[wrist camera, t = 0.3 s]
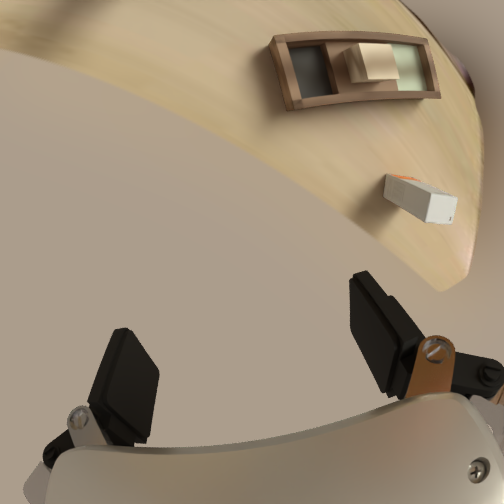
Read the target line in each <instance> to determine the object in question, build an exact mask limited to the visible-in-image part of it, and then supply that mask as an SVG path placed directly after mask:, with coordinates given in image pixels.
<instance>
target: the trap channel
mask: <svg viewBox="0 0 504 504" xmlns="http://www.w3.org/2000/svg"><path fill="white" fill-rule="evenodd" d="M358 43H372V44H389V45H391V47H392V51H393V54H394V58H395V62H396V65H397V69H398V74H399V78H400V79H397V80H390V81H383V82H365V83H351V79H350V75H349V72H348V68H347V64H346V60H345V57H344V53H343V51H344V50H346V49H348V48H350V47H352V46H354V45H356V44H358ZM269 48H270V51H271V54H272V58H273V61H274V65H275V68H276V72H277V75H278V79H279V82H280V86H281V90H282V94H283V97H284V101H285V105H286V109H287V111H290V110H295V109H301V108H307V107H314V106H320V105H328V104H335V103H344V102H354V101H365V100H380V99H406V98H429V99H441V94H440V88H439V83H438V79H437V74H436V70H435V65H434V61H433V58H432V54H431V50H430V47H429V43H428V40H427V39H426V38H420V37H414V36H407V35H400V34H391V33H380V32H365V31H318V32H302V33H291V34H282V35H274V36H273V38H272V40H271V42H270V43H269Z"/></svg>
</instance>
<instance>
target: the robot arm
mask: <svg viewBox="0 0 504 504" xmlns="http://www.w3.org/2000/svg"><path fill="white" fill-rule="evenodd" d="M349 289H350V329H351V332H352V335H353V337H354V339H355V340H356V342H357V344H358V346H359V348H360V350H361V352H362V354H363V356H364V358H365V360H366V362H367V364H368V366H369V368H370V370H371V372H372V374H373V376H374V378H375V380H376V382H377V384H378V387H379V389H380V391H381V392H382V393H385V392H386V394H387V396H388V398H390V397H393V396H395V395H396V396H397V398H398V399H399V401H396V402H393V403H391V404H388V405H385V406H382V407H379V408H376V409H374V410H371V411H368V412H366V413H362V414H360V415H356V416H354V417H350V418H347V419H344V420H341V421H337V422H334V423H331V424H328V425H324V426H320V427H316V428H313V429H309V430H305V431H301V432H296V433H292V434H288V435H282V436H278V437H273V438H267V439H261V440H255V441H248V442H241V443H233V444H224V445H214V446H200V447H175V448H153V447H152V448H151V447H134V443H143V444H146V442H147V438H148V437H149V436H150V431H151V424H152V417H153V411H154V404H155V399H156V393H157V387H158V380H159V370H158V368H157V366H156V365H155V364H154V362H153V361H152V359H151V358H150V357H149V355H148V354H147V352H146V351H145V349H144V348H143V346H142V345H141V343H140V342H139V340H138V339H137V337H136V336H135V334H134V333H133V331H131V330H129V329H128V328H120V329H115V330H114V332H113V335H112V336H111V339H110V342H109V344H108V346H107V349H106V351H105V354H104V356H103V359H102V361H101V364H100V367H99V369H98V372H97V375H96V377H95V380H94V383H93V386H92V389H91V392H90V395H89V397H88V400H87V402H88V403H89V404H90V405H89V407H87V406H83V405H82V406H78V407H76V408H75V409H73V410H72V411H71V413H70V414H69V416H68V419H67V426H68V429H67V430H66V431H65V432H64V433H62V434H61V435H60V436H58V437H57V438H56V439H54V440H53V441H52V442H50V443H49V444H48V445H47V446H46V447H45V449H44V452H43V461H44V463H43V462H42V461H41V462H40V463H39V464H38V466H37V467H36V468H35V470H34V471H33V473H32V474H31V475H30V476H29V478H28V479H27V481H26V482H25V484H24V488H23V490H24V495H25V497H26V498H27V500H28V501H29V503H30V504H504V367H503V366H502V364H501V363H499V362H498V361H496V360H494V359H489V358H484V357H479V356H474V355H469V354H464V353H459V352H455V347H454V345H453V343H452V342H451V341H450V340H449V339H447V338H445V337H443V336H440V335H433V336H429V337H427V338H425V336H424V335H423V334H422V332H421V331H420V330H419V328H418V327H417V326H416V324H415V323H414V322H413V320H412V319H411V318H410V317H409V315H408V314H407V313H406V311H405V310H404V309H403V307H402V306H401V305H400V304H399V303H398V301H397V300H396V299H395V298H394V297H393V296H391V295H390V296H387V294H386V293H385V292H384V291H383V289H382V288H381V287H380V286H379V284H378V283H377V282H376V281H375V279H374V278H373V277H372V276H371V275H370V273H369V272H368V271H362V272H359V273H355V274H353V278H351V279H350V280H349ZM488 425H490V426H491V427H492V430H493V433H492V431H491V430H490V428H489V426H488Z"/></svg>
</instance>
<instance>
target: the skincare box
mask: <svg viewBox="0 0 504 504" xmlns="http://www.w3.org/2000/svg"><path fill="white" fill-rule="evenodd" d="M383 197H384V198H385V199H387V200H389V201H391V202H392V203H394V204H396V205H398V206H399V207H401V208H402V209H404V210H406V211H407V212H409V213H411V214H412V215H414V216H415V217H417V218H419V219H420V220H422V221H423V222H425V223H436V224H449V225H452V222H453V218H454V214H455V209H456V205H457V200H458V198H457V197H455V196H453V195H451V194H449V193H447V192H445V191H443V190H440V189H438V188H436V187H434V186H432V185H429V184H427V183H424V182H422V181H420V180H417V179H415V178H412V177H405V176H398V175H393V174H386V180H385V187H384V193H383Z"/></svg>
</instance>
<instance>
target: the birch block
mask: <svg viewBox="0 0 504 504" xmlns="http://www.w3.org/2000/svg"><path fill="white" fill-rule="evenodd" d="M343 53H344V57H345V60H346V64H347V68H348V72H349V75H350V79H351V83H365V82H383V81H390V80H397V79H400V78H399V74H398V69H397V65H396V62H395V58H394V54H393V51H392V47H391V45H389V44H372V43H358V44H356V45H354V46H352V47H350V48H348V49H346V50H344V51H343Z"/></svg>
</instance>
